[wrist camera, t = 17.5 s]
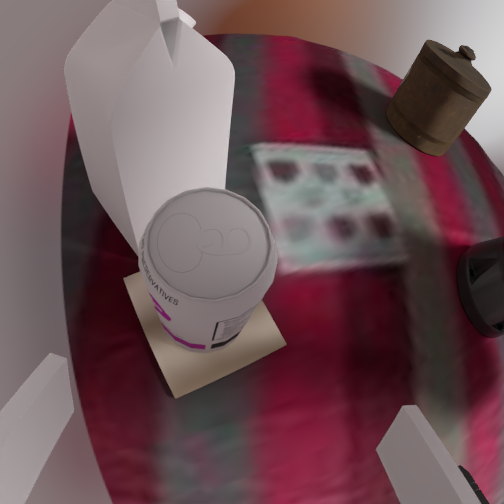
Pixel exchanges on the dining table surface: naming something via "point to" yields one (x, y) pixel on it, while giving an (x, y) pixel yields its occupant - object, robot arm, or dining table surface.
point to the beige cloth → (201, 364)
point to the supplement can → (206, 266)
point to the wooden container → (437, 98)
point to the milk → (148, 109)
